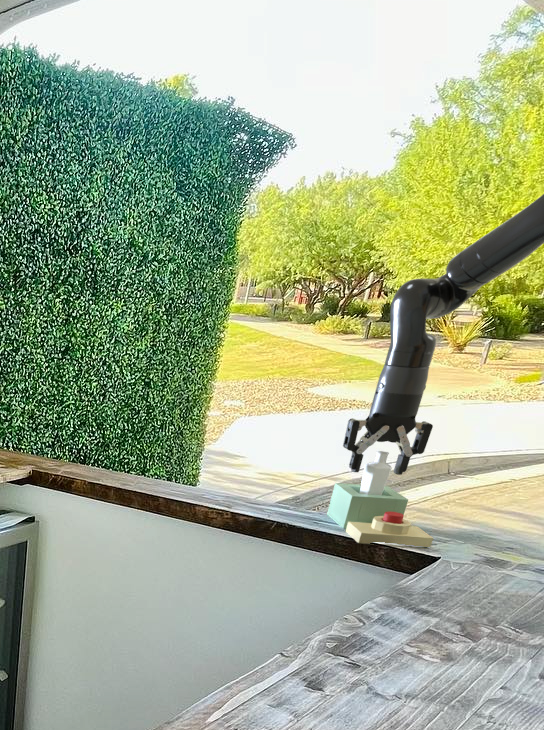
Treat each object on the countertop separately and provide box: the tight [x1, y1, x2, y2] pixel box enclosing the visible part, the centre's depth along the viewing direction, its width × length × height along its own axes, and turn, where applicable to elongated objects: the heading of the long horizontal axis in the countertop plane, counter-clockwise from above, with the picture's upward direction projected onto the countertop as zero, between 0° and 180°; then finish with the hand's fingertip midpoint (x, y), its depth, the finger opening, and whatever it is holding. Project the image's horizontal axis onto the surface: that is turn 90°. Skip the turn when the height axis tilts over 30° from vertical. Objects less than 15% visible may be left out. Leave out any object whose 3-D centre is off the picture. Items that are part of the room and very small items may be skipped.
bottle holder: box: [326, 482, 409, 530], centre depth 156 cm, size 10×10×7 cm
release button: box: [383, 512, 405, 524], centre depth 147 cm, size 3×3×2 cm
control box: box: [345, 516, 434, 548], centre depth 148 cm, size 12×7×4 cm, turn 75°
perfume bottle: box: [359, 450, 393, 495], centre depth 155 cm, size 5×4×15 cm
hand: (375, 472), depth 153 cm, fingers open, 7 cm apart
